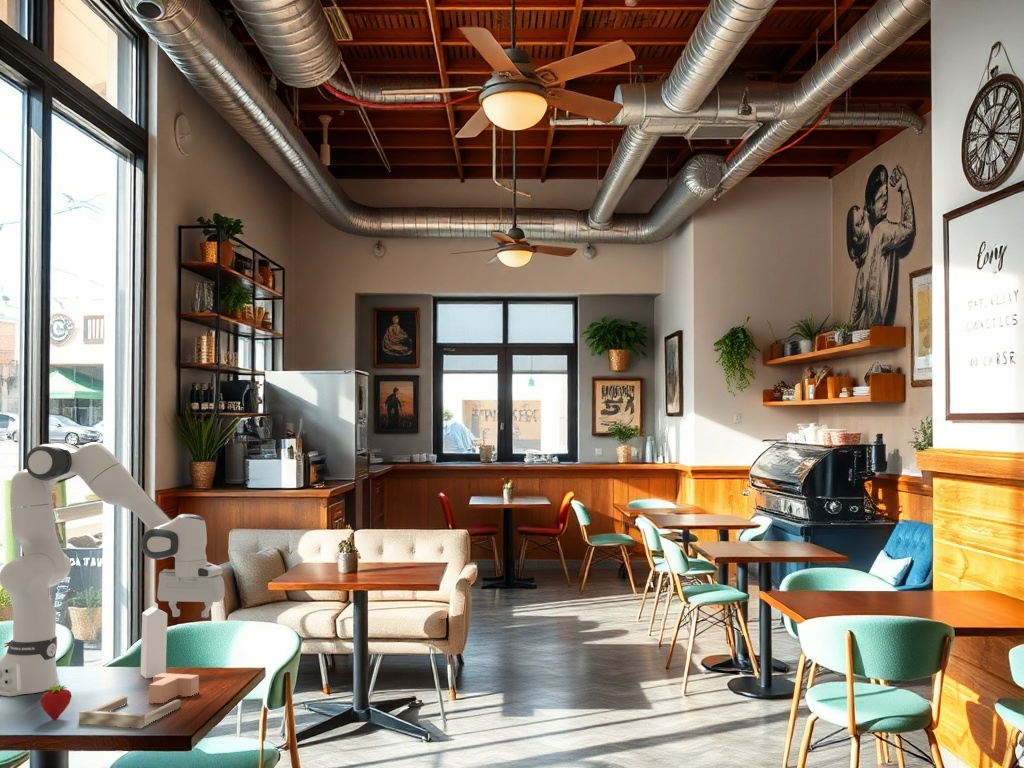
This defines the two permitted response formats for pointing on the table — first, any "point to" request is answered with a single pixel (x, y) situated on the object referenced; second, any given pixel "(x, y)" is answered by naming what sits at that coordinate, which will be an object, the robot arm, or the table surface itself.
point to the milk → (153, 642)
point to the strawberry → (55, 701)
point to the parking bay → (123, 715)
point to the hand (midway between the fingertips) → (190, 616)
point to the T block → (172, 686)
